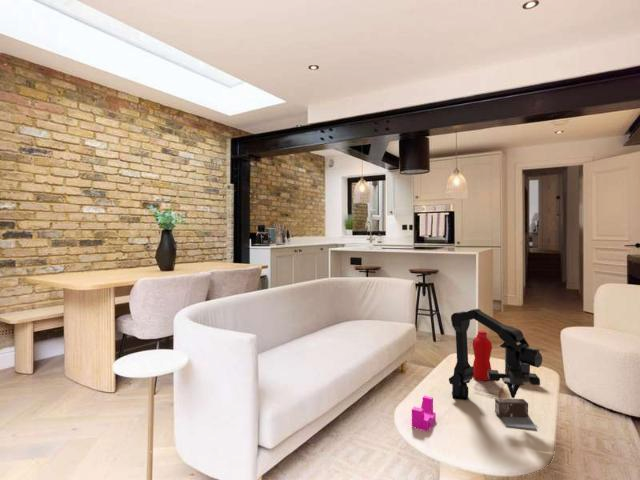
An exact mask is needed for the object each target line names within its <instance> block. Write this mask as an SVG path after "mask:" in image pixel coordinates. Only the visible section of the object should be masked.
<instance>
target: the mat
mask: <svg viewBox="0 0 640 480" xmlns="http://www.w3.org/2000/svg"><path fill="white" fill-rule="evenodd" d="M501 418H502V421H503V423H504V426H505V427H506V428H515V429H522V430H531V431H537V430H538V428H537V427H536V425H535V424H534V421H533V420H532V419H531V417H530V414H528V417H501Z"/></svg>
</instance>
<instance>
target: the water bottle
mask: <svg viewBox="0 0 640 480" xmlns="http://www.w3.org/2000/svg"><path fill="white" fill-rule="evenodd" d="M487 335H488V332H487V331H486V330H479V331H477V334H476V337H474V338H473V340H472V341H471V343H470V345H469V347H471V344H472V351H473V352H472V354H471V353H470V351H471V348H469V349H468V351H469V352H468V354H471V355H474V359H473V365H472V367H473V368H474V369H473V373H474V375H473V379H475V380H476V381H483V380H486V381H485V382H489V381H490V380H489V378H488V376H487V371H488V370H492V366H491V354H492V350H493V346H492V345H493V344H492V341H491V340H490V338H488V337H487Z"/></svg>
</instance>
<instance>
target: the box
mask: <svg viewBox="0 0 640 480" xmlns="http://www.w3.org/2000/svg"><path fill="white" fill-rule="evenodd" d="M494 413H495V415H497V416H498V417H501V418H502V417H528V415H529V403H528V402H527V401H526V400H525V399H524V398H495V399H494Z"/></svg>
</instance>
